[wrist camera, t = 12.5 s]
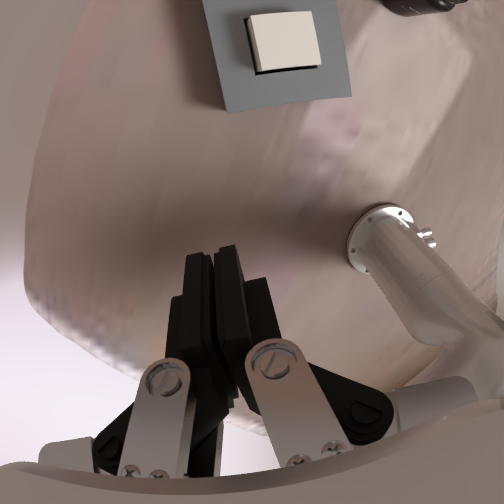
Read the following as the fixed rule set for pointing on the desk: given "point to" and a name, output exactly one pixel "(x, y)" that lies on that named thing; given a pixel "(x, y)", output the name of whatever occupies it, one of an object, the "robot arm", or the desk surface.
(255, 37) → the off-white key
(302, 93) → the key panel
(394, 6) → the supplement bottle
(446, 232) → the desk surface
